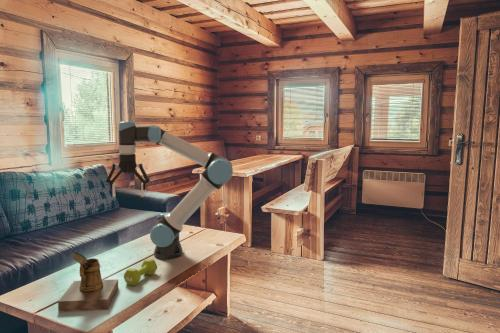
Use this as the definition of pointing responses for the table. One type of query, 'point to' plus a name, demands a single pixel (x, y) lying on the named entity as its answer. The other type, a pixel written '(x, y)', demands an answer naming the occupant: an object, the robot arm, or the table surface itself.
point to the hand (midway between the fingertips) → (128, 196)
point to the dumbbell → (140, 272)
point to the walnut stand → (88, 297)
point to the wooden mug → (89, 273)
